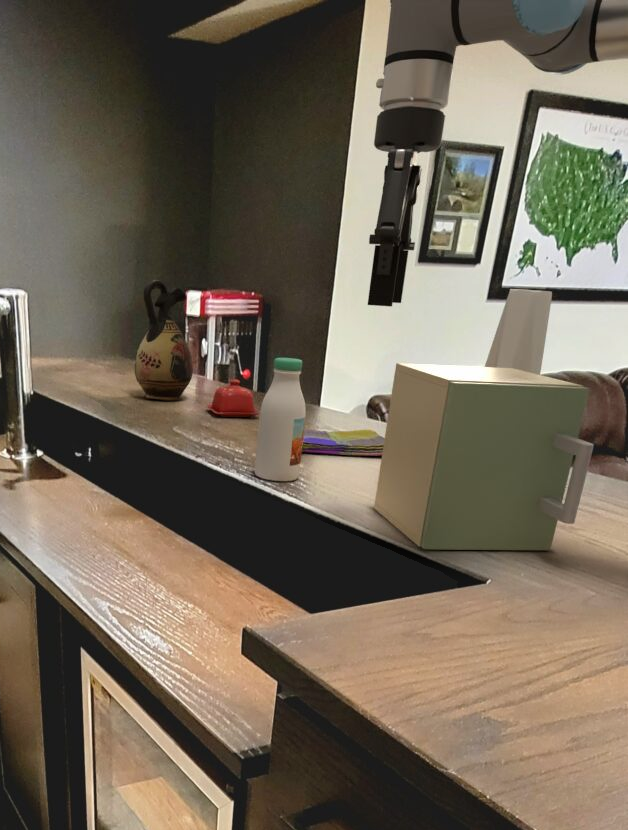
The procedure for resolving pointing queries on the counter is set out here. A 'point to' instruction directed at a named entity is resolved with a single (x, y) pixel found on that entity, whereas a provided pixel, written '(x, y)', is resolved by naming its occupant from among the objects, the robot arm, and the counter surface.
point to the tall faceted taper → (521, 331)
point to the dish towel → (343, 442)
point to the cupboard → (425, 435)
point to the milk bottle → (281, 424)
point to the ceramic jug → (163, 348)
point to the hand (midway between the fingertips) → (385, 304)
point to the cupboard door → (506, 467)
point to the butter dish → (233, 401)
